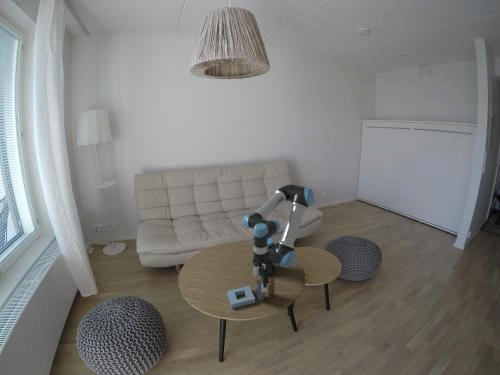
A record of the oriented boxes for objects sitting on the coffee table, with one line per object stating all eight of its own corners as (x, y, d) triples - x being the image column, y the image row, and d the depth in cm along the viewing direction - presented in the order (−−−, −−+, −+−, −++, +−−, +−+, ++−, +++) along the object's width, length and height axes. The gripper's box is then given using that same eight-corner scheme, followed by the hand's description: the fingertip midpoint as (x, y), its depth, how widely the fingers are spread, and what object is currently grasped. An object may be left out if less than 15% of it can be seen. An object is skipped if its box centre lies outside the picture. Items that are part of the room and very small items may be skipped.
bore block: (249, 289, 148) (249, 285, 147) (255, 302, 138) (255, 298, 137) (227, 294, 144) (227, 290, 143) (231, 308, 134) (231, 304, 133)
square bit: (262, 295, 144) (262, 279, 140) (264, 300, 140) (264, 283, 136) (256, 296, 142) (256, 280, 139) (258, 301, 139) (258, 285, 135)
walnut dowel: (272, 293, 145) (273, 276, 141) (275, 297, 142) (275, 280, 138) (267, 294, 144) (267, 278, 140) (269, 298, 141) (269, 282, 137)
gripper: (247, 240, 141) (247, 271, 147) (261, 265, 118) (261, 300, 125) (259, 238, 143) (258, 268, 150) (275, 263, 120) (274, 296, 127)
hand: (260, 283), depth 137 cm, fingers open, 13 cm apart
